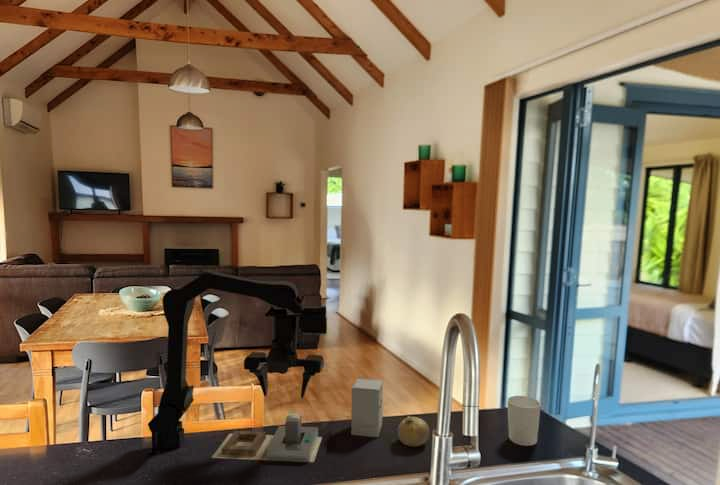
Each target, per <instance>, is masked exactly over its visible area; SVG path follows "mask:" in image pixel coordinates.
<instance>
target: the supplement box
mask: <svg viewBox="0 0 720 485" xmlns="http://www.w3.org/2000/svg"><path fill="white" fill-rule="evenodd" d="M383 387H384V385H383V380H380V379H378V380H377V379H366V378H364V379H363V378H357V379H356V380H355V382H354V384H353V386H352V387H351V421H350V422H351V423H350V424H351V425H350V427H351V428H350V429H351V430H350V434H351V435H352V436H360V437H369V438H370V437H371V438H379V435H380V431H381V429H382V426H383Z"/></svg>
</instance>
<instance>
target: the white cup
mask: <svg viewBox="0 0 720 485" xmlns="http://www.w3.org/2000/svg"><path fill="white" fill-rule="evenodd" d="M540 415H541V402H540V401H539V400H538V399H536V398H535V397H534V398H533V397H530V396H527V395H526V396H525V395H513V396H509V397H508V398H507V421H508V422H507V425H508V426H507V427H508V437H509V440H510V441H511V442H512V443H514V444H516V445H520V446H522V447H523V446H525V447H529V446H530V447H531V446H532V447H533V446H534V445H536V444H537V442H538V432H539V425H540Z"/></svg>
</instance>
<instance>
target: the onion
mask: <svg viewBox="0 0 720 485" xmlns="http://www.w3.org/2000/svg"><path fill="white" fill-rule="evenodd" d="M397 436H398V439H399V441H400V443H402V444H403V445H405V446H408V447H414V448H415V447H420V446H424V445H425V443H426V442H427V441H428V439H429V436H430V427H429V425H428V423H427V421H425V420H424V419H422V418H420V417H416V416H410V415H407V417H405V418H403V419H402V421H401V422H399V424H398V427H397Z"/></svg>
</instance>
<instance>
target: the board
mask: <svg viewBox="0 0 720 485" xmlns="http://www.w3.org/2000/svg"><path fill="white" fill-rule="evenodd" d="M232 434H233V433H229V434H228V435H227V436H226V437H225V439H224V440H223V441H222V443H221V444H220V445H219V447H218V448H217V449H216V451H215V452H214V453H213V455H212V456H211V457H210V458H211V459H229V460H231V459H232V460H249V461H250V460H255V461H267V460H266V449H267V447H268V446H269V444H270V442H271V440H272V438H273V436H274V435H275V434H273V435H272V434H266V439H265V441H264V442H263V444H262V446H261V448H260V449H259V451H258V453H257V455H256V456H241V455H222V448H223V446H224V445H225V444H226V442H227V441H228V440H229V438H230V437H231V436H232ZM322 438H323V437H322V436H318V439H317V442H316V445H315V448H314V451H313V454H312V456H311V459H310V462H309V463H315V460H316V457H317V454H318V452H319V448H320V445H321V442H322V440H323V439H322ZM253 441H254V440H239V442H238V443H237V445H236V446H251V444H252V443H253ZM271 461H273V462H274V461H275V462H277V460H271ZM294 462H295V463H297V462H299V463H301V462H300V461H294Z"/></svg>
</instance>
